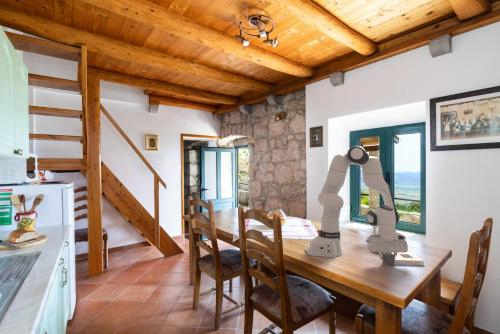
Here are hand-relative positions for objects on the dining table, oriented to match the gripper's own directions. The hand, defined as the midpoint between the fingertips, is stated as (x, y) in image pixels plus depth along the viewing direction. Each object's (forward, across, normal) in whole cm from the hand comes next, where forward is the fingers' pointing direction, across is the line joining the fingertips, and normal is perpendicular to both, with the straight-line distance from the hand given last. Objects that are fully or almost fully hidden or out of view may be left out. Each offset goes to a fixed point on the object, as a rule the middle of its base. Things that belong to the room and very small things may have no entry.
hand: (387, 259), depth 138 cm
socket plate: (+3, +11, +7) cm, 13 cm away
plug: (+2, 0, 0) cm, 3 cm away
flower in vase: (+3, +8, +43) cm, 44 cm away
